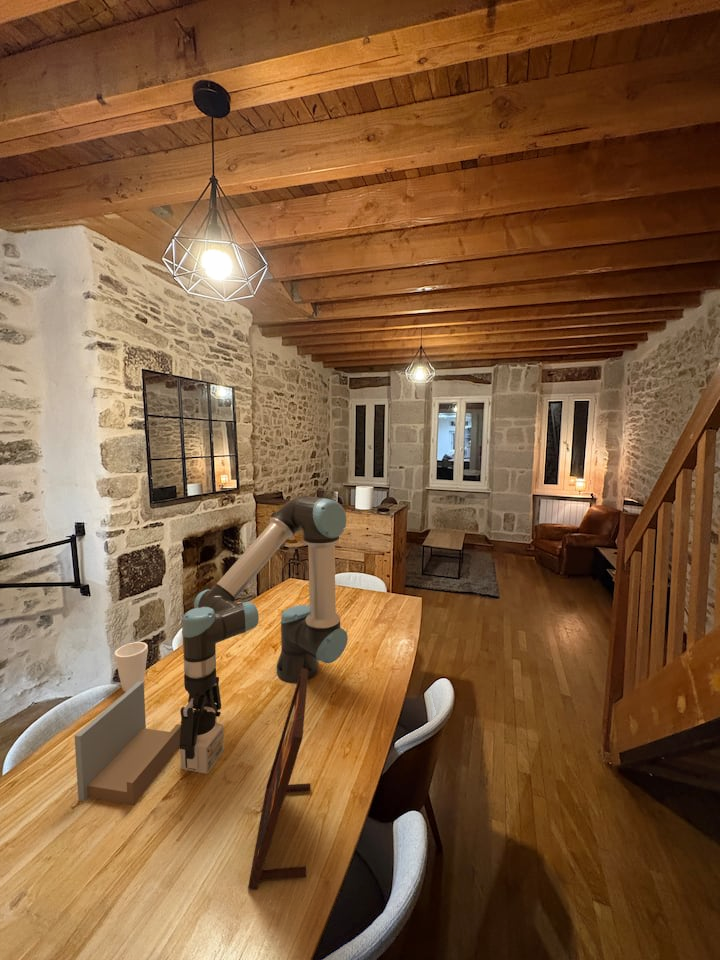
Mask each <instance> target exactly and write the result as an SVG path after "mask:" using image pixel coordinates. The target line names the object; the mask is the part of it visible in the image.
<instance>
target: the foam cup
mask: <svg viewBox="0 0 720 960" xmlns="http://www.w3.org/2000/svg"><path fill="white" fill-rule="evenodd" d="M148 653H149V645H148V644H147V643H146V642H144V641H143V642H142V641H136V642H130V643H126V644H124V645H122V646H120V647H119V648H117V649H116V650H115V652H114V661H115V662H116V669H117V672H118V678H119V681H120V682H119V683H120V686H121V690H122V691H123V692H124V693H126V692H127V691H128V690H129V689H130V688H131V687H133V686H134V685H135V684H136V683H137V682H139V681H142V682H144V683H145V678H146V677H145V676H146V668H147V667H146V666H147V657H148ZM134 679H135V680H134Z"/></svg>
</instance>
